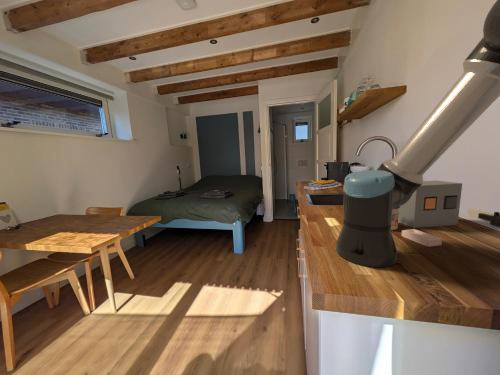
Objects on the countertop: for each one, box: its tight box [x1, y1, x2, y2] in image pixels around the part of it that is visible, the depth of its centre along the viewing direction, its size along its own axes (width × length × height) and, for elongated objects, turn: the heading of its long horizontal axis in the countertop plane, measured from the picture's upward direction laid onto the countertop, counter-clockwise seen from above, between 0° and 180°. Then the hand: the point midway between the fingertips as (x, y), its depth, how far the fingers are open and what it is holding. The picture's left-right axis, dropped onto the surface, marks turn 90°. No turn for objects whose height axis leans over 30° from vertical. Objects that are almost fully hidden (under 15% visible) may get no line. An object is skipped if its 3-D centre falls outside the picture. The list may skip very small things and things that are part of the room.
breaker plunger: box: [424, 197, 436, 209], centre depth 79 cm, size 4×10×4 cm, turn 4°
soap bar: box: [401, 228, 443, 247], centre depth 65 cm, size 5×9×2 cm, turn 10°
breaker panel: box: [398, 180, 463, 229], centre depth 79 cm, size 18×10×16 cm, turn 94°
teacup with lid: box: [391, 206, 400, 231], centre depth 78 cm, size 12×9×12 cm
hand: (470, 212), depth 62 cm, fingers closed
